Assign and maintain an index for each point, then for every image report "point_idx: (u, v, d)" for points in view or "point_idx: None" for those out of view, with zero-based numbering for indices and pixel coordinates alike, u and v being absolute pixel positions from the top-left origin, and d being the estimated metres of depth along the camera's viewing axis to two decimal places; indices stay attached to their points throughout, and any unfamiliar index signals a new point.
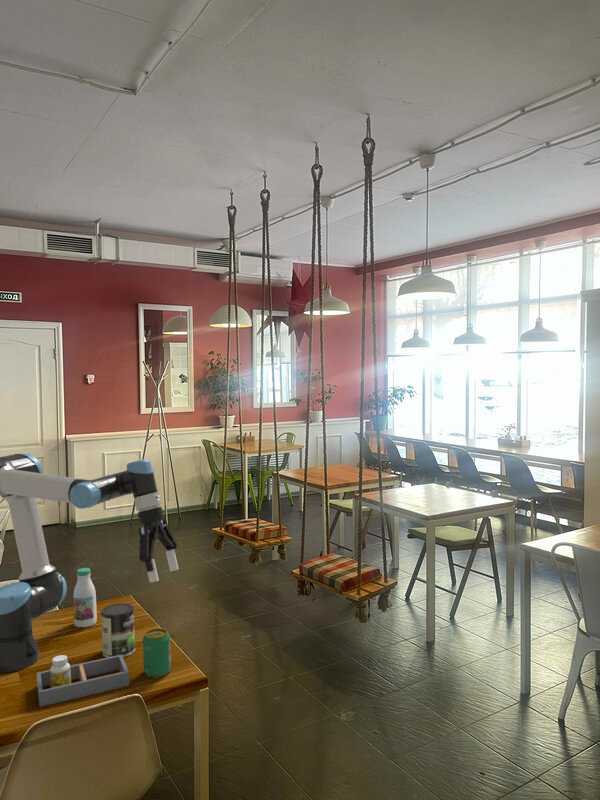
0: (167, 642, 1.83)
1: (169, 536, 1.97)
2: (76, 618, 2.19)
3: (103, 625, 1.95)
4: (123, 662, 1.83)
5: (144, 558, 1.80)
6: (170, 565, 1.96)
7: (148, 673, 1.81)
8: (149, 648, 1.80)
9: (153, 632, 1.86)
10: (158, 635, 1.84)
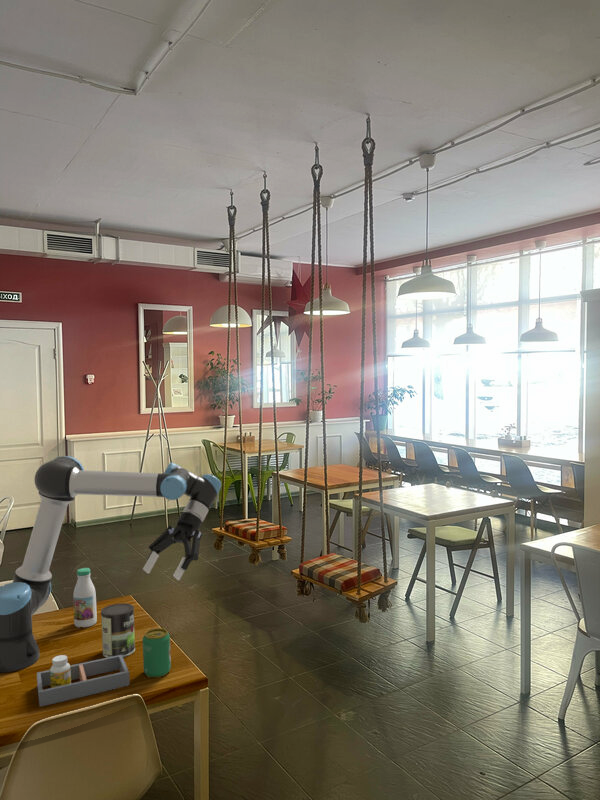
0: (167, 642, 1.83)
1: None
2: (76, 618, 2.19)
3: (103, 625, 1.95)
4: (123, 662, 1.83)
5: (196, 558, 1.90)
6: (148, 565, 1.96)
7: (148, 673, 1.81)
8: (149, 648, 1.80)
9: (153, 632, 1.86)
10: (158, 635, 1.84)
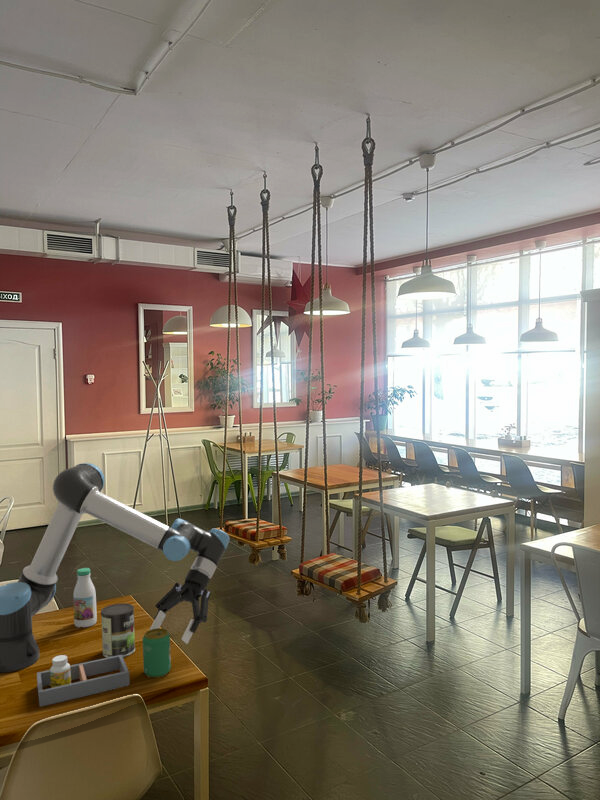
0: (167, 642, 1.83)
1: None
2: (76, 618, 2.19)
3: (103, 625, 1.95)
4: (123, 662, 1.83)
5: (204, 620, 1.86)
6: (155, 625, 1.91)
7: (148, 673, 1.81)
8: (149, 649, 1.80)
9: (153, 632, 1.86)
10: (158, 635, 1.84)
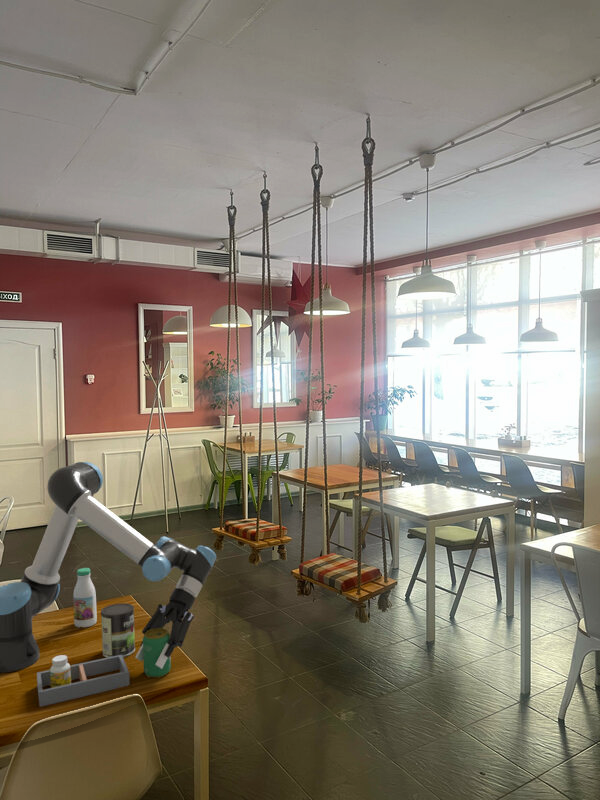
0: (167, 642, 1.83)
1: None
2: (76, 618, 2.19)
3: (103, 625, 1.95)
4: (123, 662, 1.83)
5: (179, 645, 1.82)
6: (141, 652, 1.84)
7: (148, 673, 1.81)
8: (149, 648, 1.80)
9: (153, 632, 1.86)
10: (158, 635, 1.84)
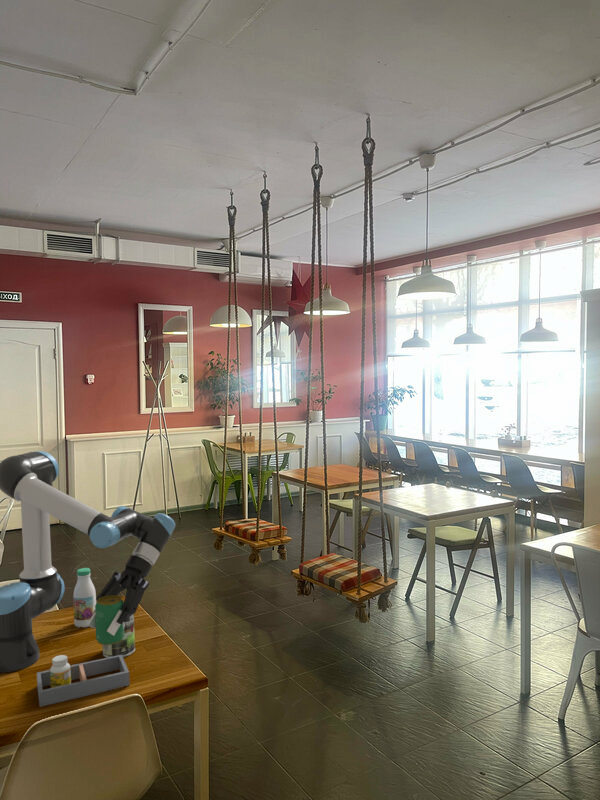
0: (120, 609, 1.78)
1: None
2: (76, 618, 2.19)
3: None
4: (123, 662, 1.83)
5: (132, 611, 1.77)
6: (93, 619, 1.80)
7: (100, 640, 1.76)
8: (101, 615, 1.76)
9: (107, 599, 1.81)
10: (111, 601, 1.79)
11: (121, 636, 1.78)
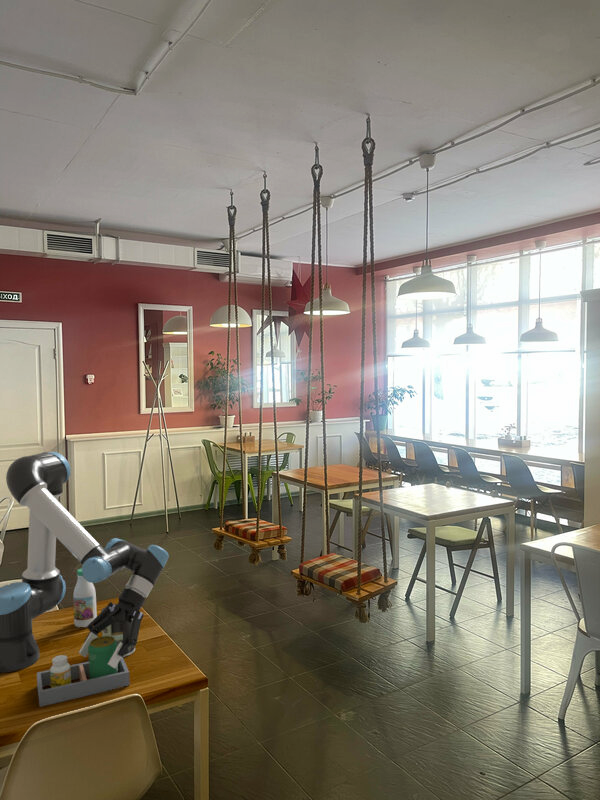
0: (113, 650, 1.78)
1: (102, 621, 1.88)
2: (76, 618, 2.19)
3: None
4: (123, 662, 1.83)
5: (134, 643, 1.76)
6: (84, 648, 1.82)
7: None
8: (94, 657, 1.76)
9: (100, 640, 1.81)
10: (104, 643, 1.79)
11: None
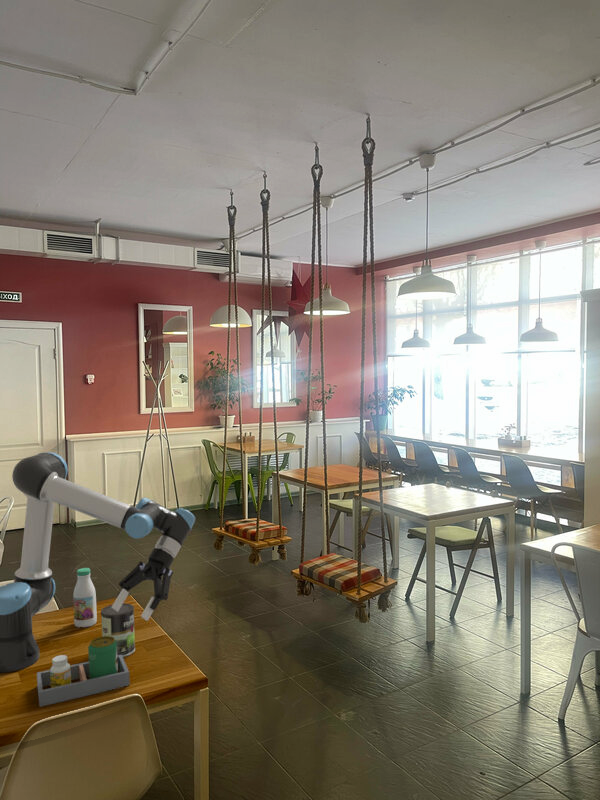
0: (113, 650, 1.78)
1: None
2: (76, 618, 2.19)
3: (103, 625, 1.95)
4: (123, 662, 1.83)
5: (165, 597, 1.86)
6: (117, 603, 1.91)
7: None
8: (94, 657, 1.76)
9: (100, 640, 1.81)
10: (104, 643, 1.79)
11: None
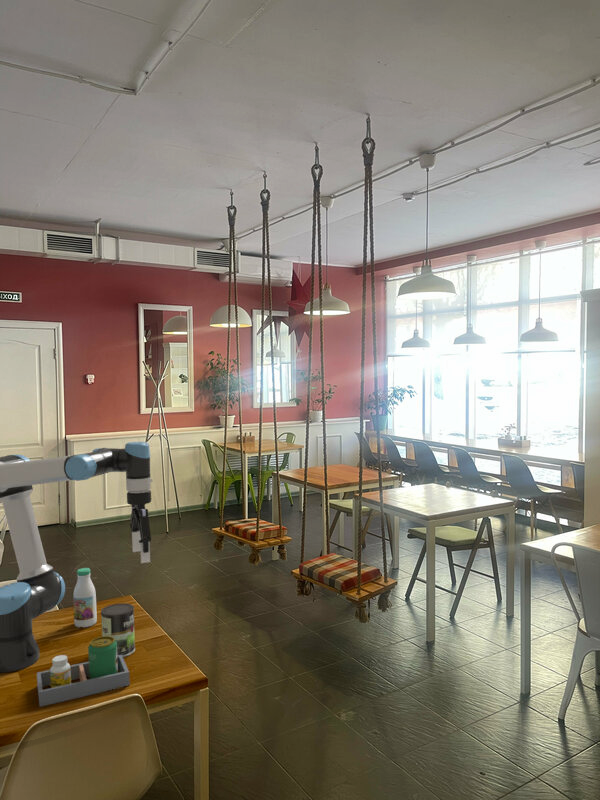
0: (113, 650, 1.78)
1: None
2: (76, 618, 2.19)
3: (103, 625, 1.95)
4: (123, 662, 1.83)
5: (148, 540, 1.86)
6: (134, 546, 2.01)
7: None
8: (94, 657, 1.76)
9: (100, 640, 1.81)
10: (104, 643, 1.79)
11: None
